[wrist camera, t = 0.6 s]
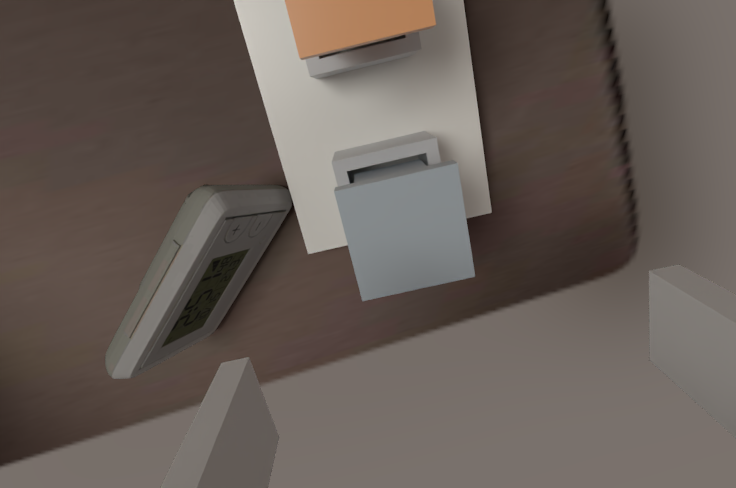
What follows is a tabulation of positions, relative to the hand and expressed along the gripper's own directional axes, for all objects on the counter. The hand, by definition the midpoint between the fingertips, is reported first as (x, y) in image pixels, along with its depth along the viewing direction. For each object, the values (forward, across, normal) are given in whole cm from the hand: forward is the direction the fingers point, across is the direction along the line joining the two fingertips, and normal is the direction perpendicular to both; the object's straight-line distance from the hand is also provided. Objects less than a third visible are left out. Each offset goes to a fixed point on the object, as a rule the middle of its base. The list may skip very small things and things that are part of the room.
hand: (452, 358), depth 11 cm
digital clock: (+26, -15, -3) cm, 30 cm away
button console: (+26, 0, +6) cm, 27 cm away
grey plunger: (+19, 0, 0) cm, 19 cm away
